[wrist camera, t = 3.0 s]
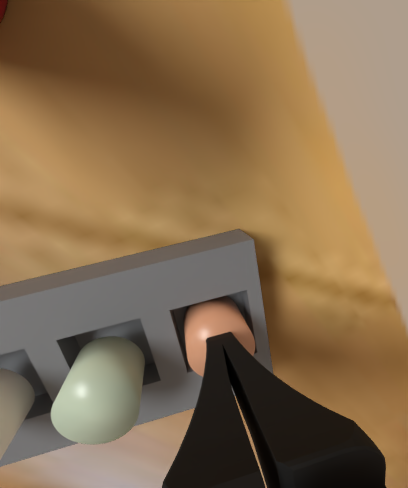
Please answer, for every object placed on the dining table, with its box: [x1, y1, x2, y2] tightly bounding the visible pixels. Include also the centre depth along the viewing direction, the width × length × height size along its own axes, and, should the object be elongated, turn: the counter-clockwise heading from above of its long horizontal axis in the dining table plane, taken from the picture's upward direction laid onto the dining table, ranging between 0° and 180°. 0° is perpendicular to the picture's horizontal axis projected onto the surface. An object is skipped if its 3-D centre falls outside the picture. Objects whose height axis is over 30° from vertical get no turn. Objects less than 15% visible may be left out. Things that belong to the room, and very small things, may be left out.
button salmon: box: [183, 296, 255, 377], centre depth 13 cm, size 4×4×3 cm
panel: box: [0, 229, 273, 467], centre depth 14 cm, size 10×18×3 cm, turn 102°
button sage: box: [51, 336, 145, 444], centre depth 11 cm, size 4×4×3 cm
